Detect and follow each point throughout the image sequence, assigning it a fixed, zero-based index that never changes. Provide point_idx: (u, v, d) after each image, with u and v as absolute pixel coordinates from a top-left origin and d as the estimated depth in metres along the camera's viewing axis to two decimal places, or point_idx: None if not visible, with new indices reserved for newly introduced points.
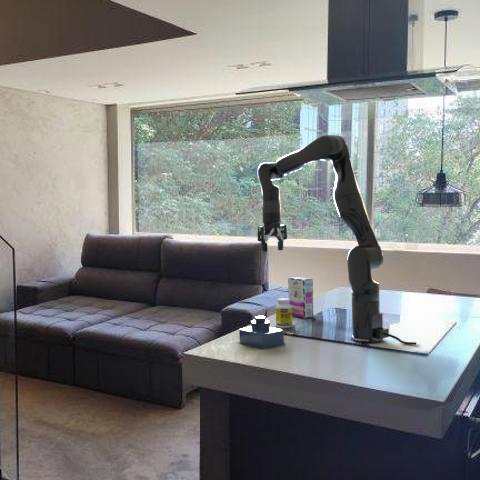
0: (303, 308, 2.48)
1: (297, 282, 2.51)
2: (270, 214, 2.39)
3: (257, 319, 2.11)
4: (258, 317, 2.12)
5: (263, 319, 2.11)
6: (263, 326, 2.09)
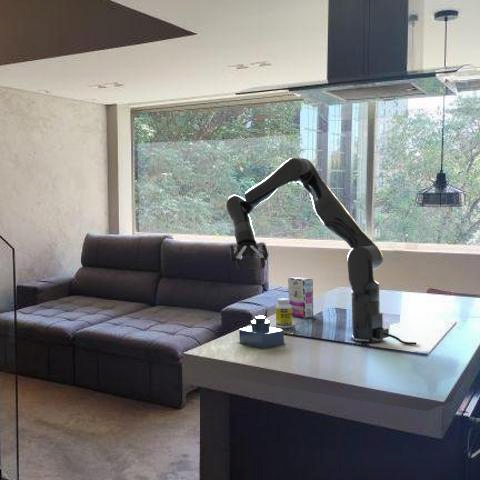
0: (303, 308, 2.48)
1: (297, 282, 2.51)
2: (238, 234, 2.32)
3: (257, 319, 2.11)
4: (258, 317, 2.12)
5: (263, 319, 2.11)
6: (263, 326, 2.09)
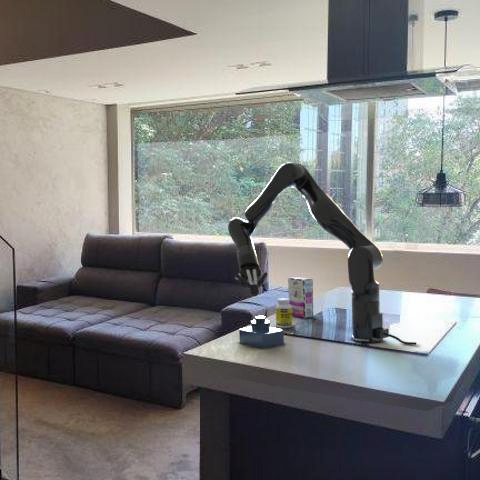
0: (303, 308, 2.48)
1: (297, 282, 2.51)
2: (241, 257, 2.29)
3: (257, 319, 2.11)
4: (258, 317, 2.12)
5: (263, 319, 2.11)
6: (263, 326, 2.09)
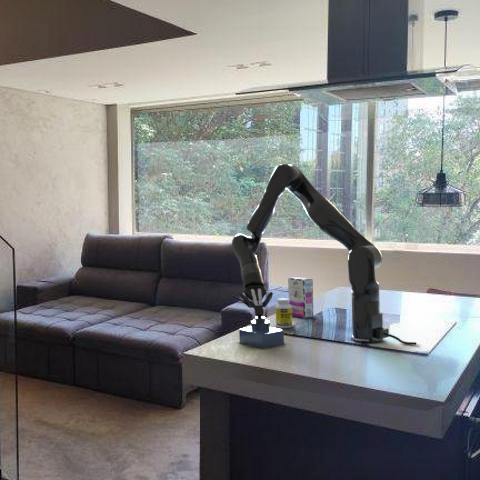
0: (303, 308, 2.48)
1: (297, 282, 2.51)
2: (245, 276, 2.21)
3: (257, 319, 2.11)
4: (258, 317, 2.12)
5: (263, 319, 2.11)
6: (263, 326, 2.09)
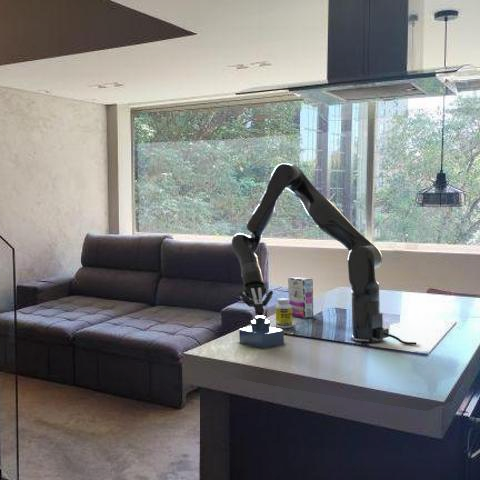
0: (303, 308, 2.48)
1: (297, 282, 2.51)
2: (245, 275, 2.21)
3: (257, 319, 2.11)
4: (258, 317, 2.12)
5: (263, 319, 2.11)
6: (263, 326, 2.09)
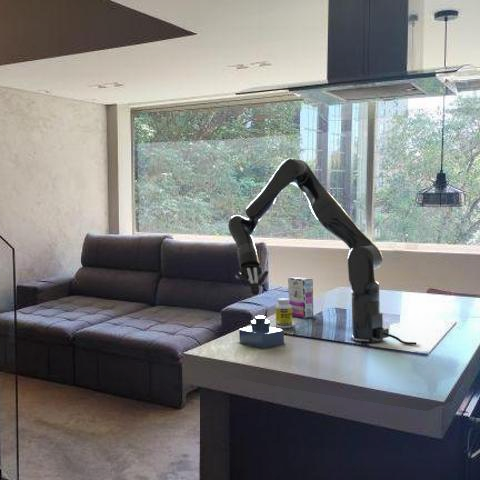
0: (303, 308, 2.48)
1: (297, 282, 2.51)
2: (241, 255, 2.26)
3: (257, 319, 2.11)
4: (258, 317, 2.12)
5: (263, 319, 2.11)
6: (263, 326, 2.09)
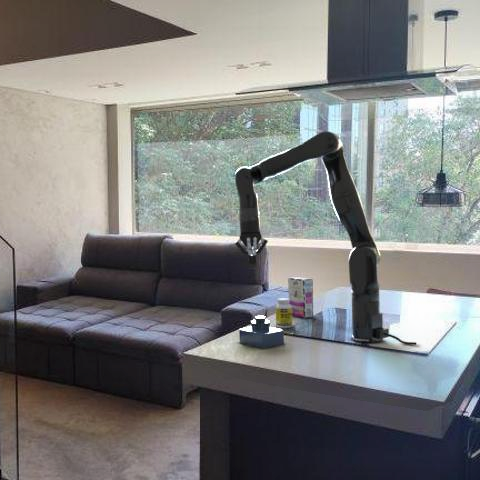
0: (303, 308, 2.48)
1: (297, 282, 2.51)
2: (243, 223, 2.23)
3: (257, 319, 2.11)
4: (258, 317, 2.12)
5: (263, 319, 2.11)
6: (263, 326, 2.09)
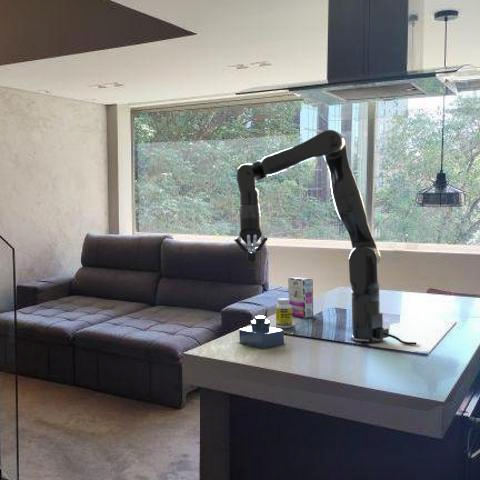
0: (303, 308, 2.48)
1: (297, 282, 2.51)
2: (243, 220, 2.22)
3: (257, 319, 2.11)
4: (258, 317, 2.12)
5: (263, 319, 2.11)
6: (263, 326, 2.09)
